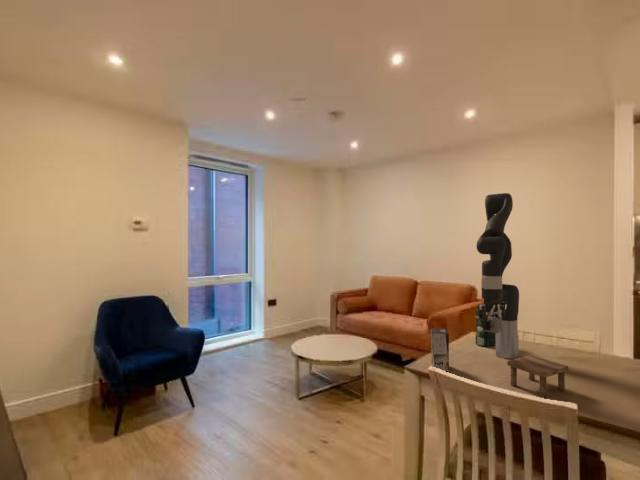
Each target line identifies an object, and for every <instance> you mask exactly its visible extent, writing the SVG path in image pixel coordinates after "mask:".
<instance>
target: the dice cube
mask: <svg viewBox="0 0 640 480" xmlns="http://www.w3.org/2000/svg"><path fill="white" fill-rule="evenodd" d="M486 318H487V317H486ZM489 321H490V330H489V331H487V330H484V331H486V332H492V333H499V332H500V331H502V318H496V317H490V320H489Z"/></svg>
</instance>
